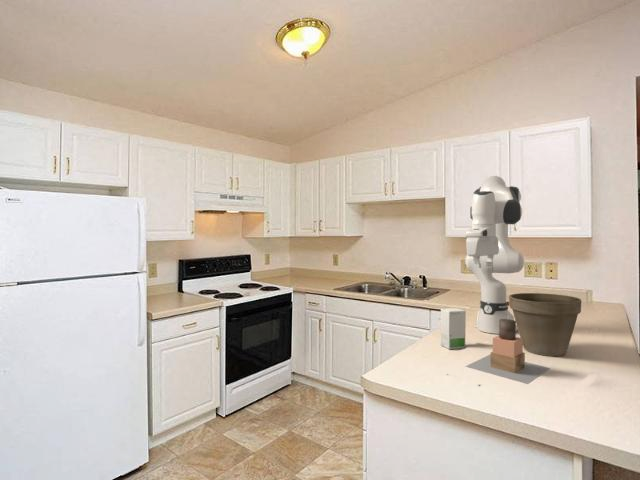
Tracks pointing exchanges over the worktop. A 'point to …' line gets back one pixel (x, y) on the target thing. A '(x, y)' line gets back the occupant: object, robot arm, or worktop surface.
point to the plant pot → (545, 321)
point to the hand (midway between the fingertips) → (483, 267)
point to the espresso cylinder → (507, 329)
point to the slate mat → (522, 376)
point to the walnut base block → (508, 362)
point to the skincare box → (453, 328)
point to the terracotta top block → (508, 346)
